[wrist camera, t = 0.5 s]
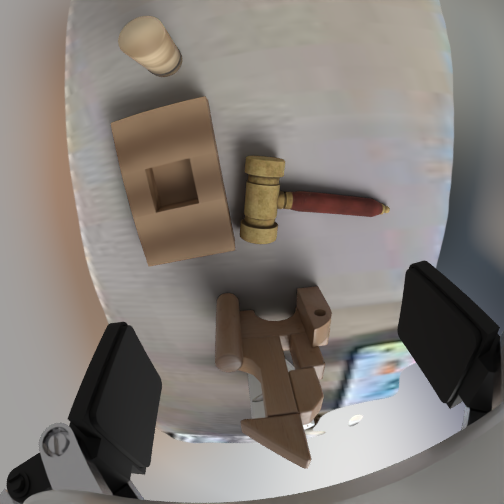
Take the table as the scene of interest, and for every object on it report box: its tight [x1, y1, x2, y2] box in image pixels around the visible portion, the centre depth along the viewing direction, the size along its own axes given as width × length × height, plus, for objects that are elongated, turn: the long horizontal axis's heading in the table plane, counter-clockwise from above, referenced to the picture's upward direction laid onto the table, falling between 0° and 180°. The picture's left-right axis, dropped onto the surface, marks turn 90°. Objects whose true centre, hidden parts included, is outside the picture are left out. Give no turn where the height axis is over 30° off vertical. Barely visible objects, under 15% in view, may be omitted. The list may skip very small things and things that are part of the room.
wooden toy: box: [215, 286, 332, 468], centre depth 31 cm, size 16×7×25 cm, turn 92°
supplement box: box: [248, 359, 315, 429], centre depth 43 cm, size 7×7×13 cm
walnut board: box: [111, 96, 235, 266], centre depth 32 cm, size 18×11×4 cm, turn 9°
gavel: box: [240, 156, 390, 244], centre depth 35 cm, size 21×5×10 cm
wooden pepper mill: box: [118, 16, 182, 77], centre depth 22 cm, size 4×4×12 cm
